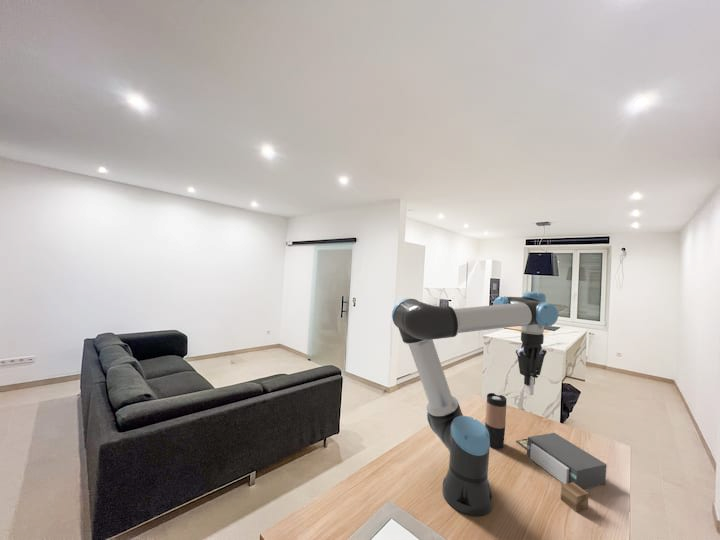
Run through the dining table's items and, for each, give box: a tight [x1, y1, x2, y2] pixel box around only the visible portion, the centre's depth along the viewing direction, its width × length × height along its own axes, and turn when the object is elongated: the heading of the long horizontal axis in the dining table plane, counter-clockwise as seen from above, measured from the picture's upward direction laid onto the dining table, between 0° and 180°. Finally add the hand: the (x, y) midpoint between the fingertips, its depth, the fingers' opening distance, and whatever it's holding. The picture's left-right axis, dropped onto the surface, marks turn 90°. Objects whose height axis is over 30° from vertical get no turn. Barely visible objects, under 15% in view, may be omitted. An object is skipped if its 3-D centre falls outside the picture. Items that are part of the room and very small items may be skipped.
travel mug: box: [484, 392, 507, 450], centre depth 126 cm, size 8×8×20 cm
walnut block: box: [560, 482, 590, 513], centre depth 95 cm, size 5×5×5 cm
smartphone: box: [515, 438, 528, 451], centre depth 122 cm, size 8×15×1 cm, turn 16°
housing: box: [526, 432, 607, 490], centre depth 113 cm, size 15×20×7 cm
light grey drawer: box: [529, 443, 571, 485], centre depth 112 cm, size 13×15×6 cm
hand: (528, 393), depth 116 cm, fingers closed
